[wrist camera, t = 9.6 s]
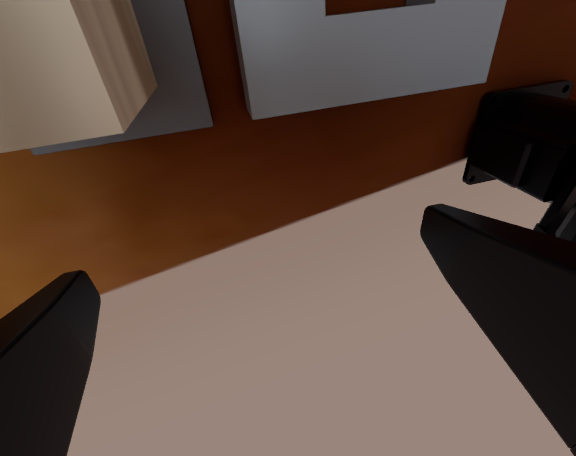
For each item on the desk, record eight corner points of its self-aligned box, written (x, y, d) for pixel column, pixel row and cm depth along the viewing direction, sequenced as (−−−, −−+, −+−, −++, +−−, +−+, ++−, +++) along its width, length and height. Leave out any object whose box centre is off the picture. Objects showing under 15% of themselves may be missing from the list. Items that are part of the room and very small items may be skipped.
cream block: (119, -34, 12) (29, -98, 6) (157, 85, 15) (123, 132, 8) (-2, -23, 12) (-251, -81, 5) (59, 100, 14) (-58, 162, 8)
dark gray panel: (158, -110, 12) (156, -116, 11) (213, 123, 17) (213, 126, 17) (-105, -95, 11) (-120, -101, 10) (39, 151, 16) (34, 155, 15)
